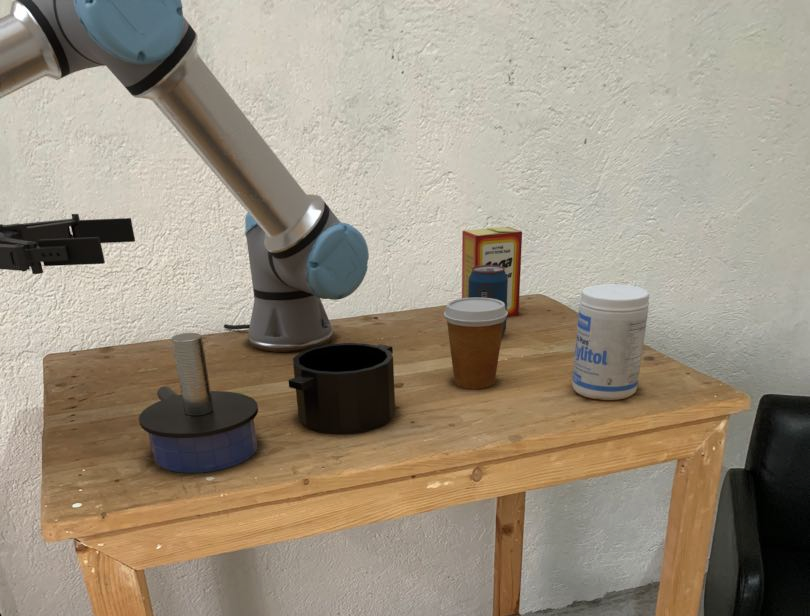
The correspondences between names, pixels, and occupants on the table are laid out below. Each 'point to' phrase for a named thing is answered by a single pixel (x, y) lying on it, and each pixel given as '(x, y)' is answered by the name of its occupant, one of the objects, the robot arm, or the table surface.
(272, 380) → the table surface
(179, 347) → the lid
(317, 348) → the pot
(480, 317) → the disposable coffee cup
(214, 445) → the pan
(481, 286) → the soda can
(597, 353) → the supplement tub
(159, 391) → the pan handle
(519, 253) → the baking soda box
